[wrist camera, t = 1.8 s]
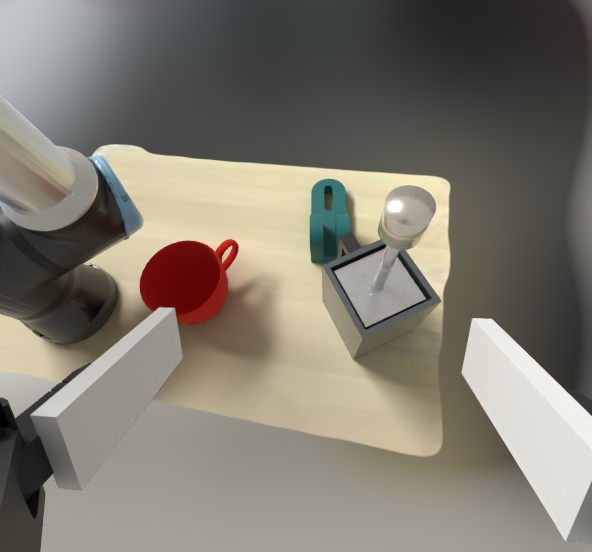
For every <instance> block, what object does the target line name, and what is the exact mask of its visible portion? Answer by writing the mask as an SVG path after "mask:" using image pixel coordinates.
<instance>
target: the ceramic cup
mask: <svg viewBox="0 0 592 552" xmlns="http://www.w3.org/2000/svg"><path fill="white" fill-rule="evenodd" d="M230 246H232V250H231V252H230V254H229V256H228V257H227V258H226V260H225V261H224V262H223V263H222V256H223V254H224V252H225V251H226V250H227V249H228V248H229V247H230ZM237 253H238V244H237V243H236V242H235V241H234V240H232V239H229V240H226V241H224V242H223V243H222V244H221V245H220V246H219V247H218V248H217V250H216V251H214V250H213V249H212V248H210V247H209V246H208V245H205V244H203V243H201V242H197V241H180V242H176V243H173V244H170V245H168V246H166V247H164V248H163V249H161V250H160V251H158V252H157V253H156V254H155V255H154V256H153V257H152V258H151V259H150V260H149V262H148V263H147V264H146V266H145V268H144V270H143V272H142V275H141V279H140V293H141V296H142V300H143V301H144V303H145V304H146V306H147V307H148V308H149V309H150V310H151V311H152V312H154V311H156V310H157V309H158V308H159V307H162V308H175V312H176V318H177V323H182V324H194V323H199V322H203V321H205V320H207V319H209V318H211V317H212V316H214V315H215V314H216V313H217V312H218V311H219V310H220V309H221V307H222V306H223V304H224V302H225V300H226V298H227V293H228V279H227V275H226V270H227V269H228V267H229V266H230V265H231V264H232V262H233V261H234V259H235V258H236V256H237Z"/></svg>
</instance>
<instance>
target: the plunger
mask: <svg viewBox="0 0 592 552" xmlns="http://www.w3.org/2000/svg"><path fill="white" fill-rule="evenodd" d="M435 211H436V203H435V200H434V198H433V197H432V195H431V194H430V193H429V192H427V191H426V190H424V189H422V188H420V187H417V186H410V185H409V186H401V187H398V188H396V189H394V190H392V191H391V192H390V193H389V195H388V196H387V198H386V202H385V205H384V209H383V212H382V216H381V220H380V223H379V227H378V234H379V237H380V239H381V240H382V242H383V243H384V244H386V245H387V246H386V248H385V249H382V250H380V251H378V252H376V253H374V254H371V255H369V256H367V257H365V258H362V259H360V260H358V261H356V262H353V263H351V264H349V265H347V266H344V267H342V268H340V269H338V270H336V271H334V274H335V276H336V278H337V279H338V281H339V283H340V285H341V286H342V288H343V290H344V292H345V294H346V295H347V297H348V299H349V301H350V302H351V304H352V306H353V308H354V309H355V311H356V313H357V315H358V317H359V318H360V320H361V322H362V324H363V325H364V327H365V328H368V327H370V326H372V325H374V324H376V323H378V322H380V321H382V320H384V319H387V318H389V317H391V316H393V315H395V314H397V313H399V312H401V311H403V310H406V309H408V308H410V307H412V306H414V305H416V304H418V303H420V302H422V301H425V299H426V298H425V296H424V295H423V294H422V292H421V291H420V289H419V288H418V286H417V285H416V283H415V282H414V280H413V279H412V278H411V276H410V275H409V273H408V272H407V270H406V269H405V267H404V266H403V264H402V263H401V262H400V260H399V259H398V257H397V256H398V253H399V251H400V250H407V249H410V248H413V247H414V246H416V245H417V244H418V243H419V242H420V240H421V238H422V236H423V234H424V232H425V230H426V229H427V227H428V225H429V223H430V221H431V219H432V217H433V216H434V214H435Z"/></svg>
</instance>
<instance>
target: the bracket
mask: <svg viewBox="0 0 592 552" xmlns="http://www.w3.org/2000/svg"><path fill="white" fill-rule="evenodd" d="M326 192H330V193H332V199H333V209H332V210H329V211H328V210H326V209H325V208H324V194H325V193H326ZM350 232H351V229H350V215H349V214H347V209H346V190H345V187H344V186H343V184H342V183H341V182H339V181H337V180H334V179H324V180H321V181H319V182H317V183H316V184H315V185H314V187H313V188H312V207H311V215H310V251H311V262H331V261H333V260H336V259H337V255H338V242H339V237H341V236H343V235H345V234H348V233H350Z"/></svg>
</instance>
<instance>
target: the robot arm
mask: <svg viewBox="0 0 592 552" xmlns="http://www.w3.org/2000/svg"><path fill="white" fill-rule="evenodd" d="M142 226H143V217H142V216H141V214H140V212H139V211H138V209H137V208H136V206H135V205H134V203H133V202H132V200H131V198H130V197H129V195H128V194H127V192H126V191H125V189H124V187H123V186H122V184H121V183H120V181H119V180H118V178H117V177H116V175H115V174H114V172H113V171H112V169H111V168H110V166H109V165H108V163H107V162H106V160H105V159H104V158H103V157H102V156H94V157H92V156H91V157H88V158H86V157H84V156H83V155H82V154H81V153H79V152H77V151H76V150H73V149H70V148H66V147H60V146H55V145H54V144H53V143H52V142H51V141H50V140H49V139H47V138H46V137H45V136H44V135H43V134H42V133H41V132H40V131H39V130H38V129H37V128H36V127H35V126H33V125H32V124H31V123H30V122H29V121H28V120H27V119H26V118H25V117H24V116H23V115H22V114H20V113H19V112H18V111H17V110H16V109H15V108H14V107H13V106H12V105H11V104H10V103H9V102H7V101H6V100H5V99H4V98H3V97H2V96H1V95H0V314H2V315H5V316H9V317H12V318H15V319H18V320H20V321H21V322H22V323H23V324H24V325H25V326H27V327H28V328H29V329H30V330H32V331H33V332H34V333H35V334H36V335H37V336H39V337H40V338H42V339H44V340H47V341H51V342H55V343H59V344H69V343H74V342H78V341H81V340H83V339H85V338H87V337H89V336H90V335H92V334H93V333H95V332H96V331H97V330H98V329H99V328H101V327H102V325H103V324H104V323H105V322H106V321H107V319H108V318H109V316H110V315H111V313H112V311H113V309H114V306H115V303H116V299H117V288H116V284H115V282H114V280H113V278H112V277H111V276H110V275H109V274H108V273H107V272H106V271H104V270H103V269H101V268H100V267H98V266H96V265H93V264H89V263H85V262H86V261H88V260H90V259H91V258H93V257H95V256H97V255H98V254H100V253H102V252H103V251H105V250H107V249H109V248H110V247H112V246H114V245H116V244H117V243H119V242H121V241H123V240H126V239H128V238H129V236H130V235H132V234H133V233H135V232H136V231H138V230H139V229H141V227H142ZM182 359H183V354H182V348H181V342H180V336H179V330H178V324H177V318H176V312H175V308H162V307H159V308H158V309H157V310H156V311H154V312H153V313H152V314H151V315H150V316H148V317H147V318H146V319H145V320H144V321H142V322H141V323H140V324H139V325H138V326H136V327H135V328H134V329H133V330H132V331H130V332H129V333H128V334H127V335H126V336H124V337H123V338H122V339H121V340H120V341H118V342H117V343H116V344H115V345H114V346H112V347H111V348H110V349H109V350H108V351H106V352H105V353H104V354H103V355H102V356H100V357H99V358H98V359H97V360H96V361H94V362H93V363H89V364H87V365H85V366H83V367H81V368H79V369H77V370H76V371H74V372H73V373H71V374H70V375H69V376H68V377H66V378H65V379H64V380H63V381H62V383H59V384H58V385H56V386H55V387H54V388H53V389H52V390H51V392H48V393H46V394H45V395H44V396H43V397H42V398H40V399H39V400H38V401H37V402H35V403H34V404H33V405H32V406H30V407H29V408H28V409H27V410H25V411H24V412H23V413H22V414H21V415H19V416H18V417H17V418H15V417H14V415H13V412H12V410H11V407H10V405H9V403H8V400H6V399H4V398H0V552H40V549H41V536H42V526H43V514H44V504H45V491H44V487H43V484H44V483H45V482H46V481H47V479H48V478H49V477H50V476H51V475H52V474H53V475H54V478H55V481H56V483H57V486H58V488H63V489H73V490H83V489H84V487H85V486H86V485H87V483H88V482H89V481H90V479H91V478H92V477H93V476H94V474H95V473H96V471H97V470H98V469H99V467H100V466H101V465H102V464H103V463H104V461H105V460H106V458H107V457H108V456H109V455H110V453H111V452H112V451H113V449H114V448H115V447H116V445H117V444H118V443H119V442H120V440H121V439H122V438H123V436H124V435H125V434H126V432H127V431H128V430H129V428H130V427H131V426H132V425H133V423H134V422H135V420H136V419H137V418H138V417H139V415H140V414H141V413H142V411H143V410H144V409H145V407H146V406H147V405H148V404H149V402H150V401H151V400H152V398H153V397H154V396H155V394H156V393H157V392H158V391H159V389H160V388H161V387H162V385H163V384H164V383H165V381H166V380H167V379H168V377H169V376H170V375H171V374H172V372H173V371H174V370H175V368H176V367H177V366H178V364H179V363H180V362H181V360H182ZM462 375H463V376H464V378H465V380H466V381H467V383H468V384H469V386H470V388H471V389H472V391H473V392H474V394H475V396H476V397H477V399H478V401H479V402H480V404H481V405H482V407H483V409H484V410H485V412H486V413H487V415H488V416H489V418H490V420H491V422H492V423H493V425H494V426H495V428H496V429H497V431H498V433H499V434H500V436H501V437H502V439H503V441H504V442H505V444H506V446H507V447H508V449H509V451H510V452H511V454H512V455H513V457H514V459H515V460H516V462H517V463H518V465H519V467H520V468H521V470H522V472H523V473H524V475H525V476H526V478H527V480H528V481H529V483H530V484H531V486H532V488H533V489H534V491H535V492H536V494H537V496H538V497H539V499H540V501H541V502H542V504H543V505H544V507H545V508H546V510H547V512H548V514H549V515H550V517H551V518H552V520H553V521H554V523H555V525H556V526H557V528H558V530H559V531H560V533H561V535H562V536H563V538H564V539H565V541H568V542H578V543H587V544H592V400H590V399H588V398H587V397H585V396H583V395H582V394H580V393H578V392H577V391H575V390H573V389H563V388H562V387H561V386H560V385H559V384H558V383H557V382H556V381H555V380H554V379H553V378H552V377H551V376H550V375H549V374H548V373H547V372H546V371H545V370H544V369H543V368H541V366H539V364H537V362H536V361H534V360H533V359H532V358H531V357H530V356H529V355H528V354H527V353H526V352H525V351H524V350H523V349H522V348H521V347H520V346H519V345H518V344H517V343H516V342H515V341H514V340H513V339H512V338H511V337H510V336H509V335H508V334H507V333H506V332H505V331H504V330H503V329H501V327H499V326H498V325H497V324H496V323H495V322H494V321H493V320H492V319H478V318H473V319H472V323H471V328H470V333H469V338H468V343H467V348H466V353H465V358H464V363H463V368H462Z"/></svg>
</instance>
